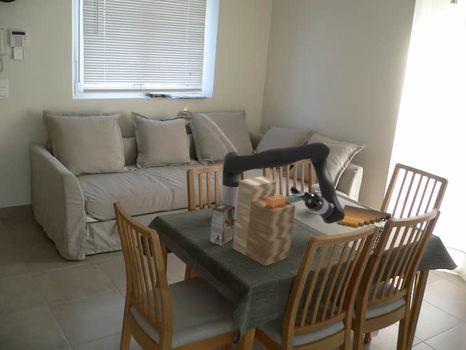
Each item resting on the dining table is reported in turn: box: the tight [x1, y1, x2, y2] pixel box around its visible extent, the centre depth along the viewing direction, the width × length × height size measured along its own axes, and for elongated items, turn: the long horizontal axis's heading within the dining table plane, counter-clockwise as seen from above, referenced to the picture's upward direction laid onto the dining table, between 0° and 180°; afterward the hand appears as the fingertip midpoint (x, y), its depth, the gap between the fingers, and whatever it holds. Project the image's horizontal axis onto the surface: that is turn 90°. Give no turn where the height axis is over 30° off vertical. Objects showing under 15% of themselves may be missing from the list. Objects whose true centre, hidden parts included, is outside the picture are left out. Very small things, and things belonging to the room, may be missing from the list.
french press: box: [306, 183, 321, 215], centre depth 275 cm, size 10×12×25 cm
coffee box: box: [209, 204, 235, 246], centre depth 228 cm, size 9×6×16 cm
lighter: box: [373, 225, 385, 249], centre depth 239 cm, size 8×3×10 cm, turn 117°
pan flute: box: [337, 204, 392, 228], centre depth 272 cm, size 25×3×25 cm
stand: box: [232, 175, 296, 267], centre depth 218 cm, size 14×20×31 cm
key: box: [266, 192, 306, 209], centre depth 215 cm, size 22×4×4 cm, turn 133°
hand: (298, 191), depth 218 cm, fingers open, 7 cm apart
